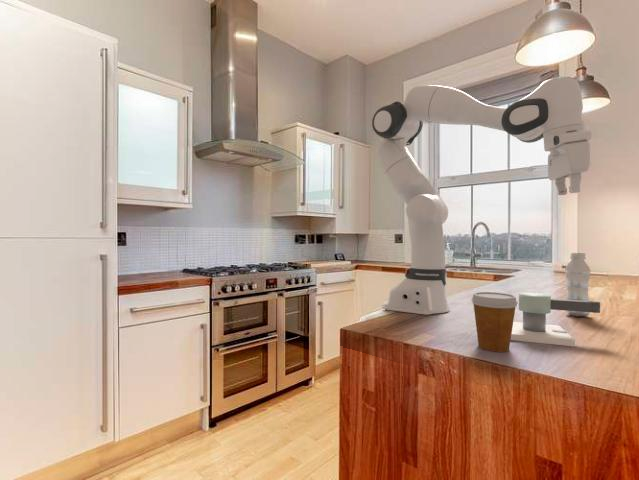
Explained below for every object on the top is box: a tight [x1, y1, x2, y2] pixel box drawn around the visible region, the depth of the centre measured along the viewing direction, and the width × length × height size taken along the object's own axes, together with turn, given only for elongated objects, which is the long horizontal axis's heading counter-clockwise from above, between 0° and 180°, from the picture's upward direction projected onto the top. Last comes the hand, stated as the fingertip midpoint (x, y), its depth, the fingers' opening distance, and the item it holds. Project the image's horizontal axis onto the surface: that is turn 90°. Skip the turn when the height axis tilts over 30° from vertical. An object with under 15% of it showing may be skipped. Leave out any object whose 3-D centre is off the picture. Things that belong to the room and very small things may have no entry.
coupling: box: [518, 292, 601, 315], centre depth 88 cm, size 17×7×4 cm, turn 68°
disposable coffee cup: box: [470, 291, 519, 353], centre depth 80 cm, size 10×10×12 cm
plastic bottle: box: [564, 252, 592, 318], centre depth 111 cm, size 6×7×20 cm
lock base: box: [510, 311, 576, 347], centre depth 90 cm, size 14×14×6 cm
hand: (568, 194), depth 92 cm, fingers open, 8 cm apart
